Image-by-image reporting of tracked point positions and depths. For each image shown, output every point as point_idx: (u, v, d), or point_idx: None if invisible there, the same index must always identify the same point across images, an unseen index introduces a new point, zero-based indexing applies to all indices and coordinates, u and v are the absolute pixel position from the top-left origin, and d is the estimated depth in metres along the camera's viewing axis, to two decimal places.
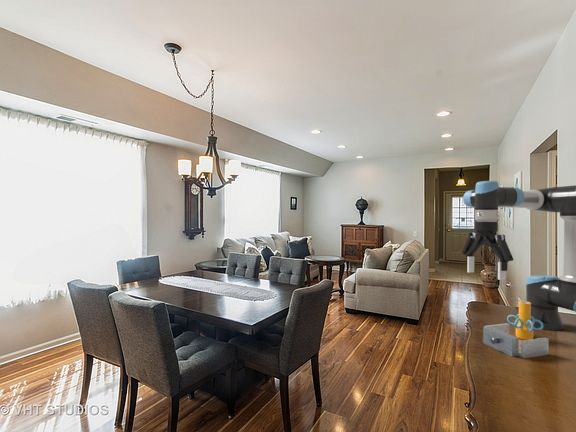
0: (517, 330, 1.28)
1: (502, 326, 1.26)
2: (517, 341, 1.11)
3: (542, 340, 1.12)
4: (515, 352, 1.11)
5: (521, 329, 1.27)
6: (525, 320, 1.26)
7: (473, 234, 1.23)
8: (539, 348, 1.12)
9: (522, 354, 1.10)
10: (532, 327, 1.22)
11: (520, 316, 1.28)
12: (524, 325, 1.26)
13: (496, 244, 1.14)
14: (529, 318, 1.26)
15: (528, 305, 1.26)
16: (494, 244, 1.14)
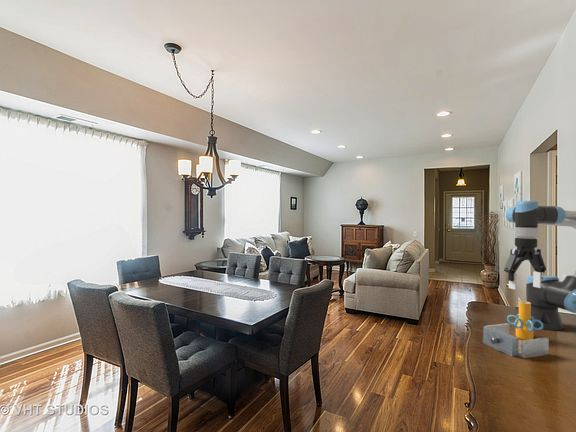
0: (517, 330, 1.28)
1: (502, 326, 1.26)
2: (517, 341, 1.11)
3: (542, 340, 1.12)
4: (515, 352, 1.11)
5: (521, 329, 1.27)
6: (525, 320, 1.26)
7: None
8: (539, 348, 1.12)
9: (522, 354, 1.10)
10: (532, 327, 1.22)
11: (520, 316, 1.28)
12: (524, 325, 1.26)
13: (519, 258, 1.26)
14: (529, 318, 1.26)
15: (528, 305, 1.26)
16: (517, 258, 1.27)
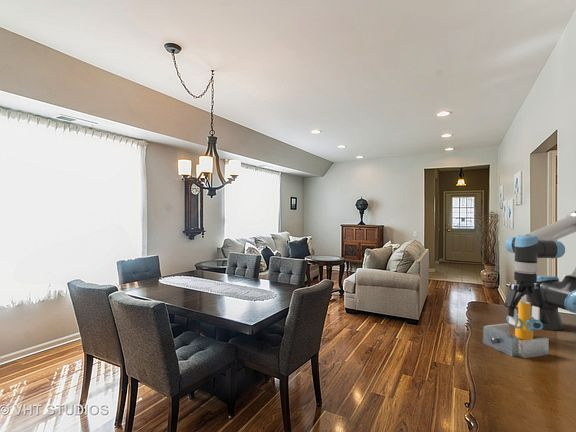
0: (517, 330, 1.28)
1: (502, 326, 1.26)
2: (517, 341, 1.11)
3: (542, 340, 1.12)
4: (515, 352, 1.11)
5: (521, 329, 1.26)
6: (525, 320, 1.26)
7: None
8: (539, 348, 1.12)
9: (522, 354, 1.10)
10: (532, 327, 1.22)
11: (520, 316, 1.28)
12: (524, 325, 1.26)
13: (519, 293, 1.26)
14: (529, 318, 1.26)
15: (528, 305, 1.26)
16: (517, 293, 1.27)
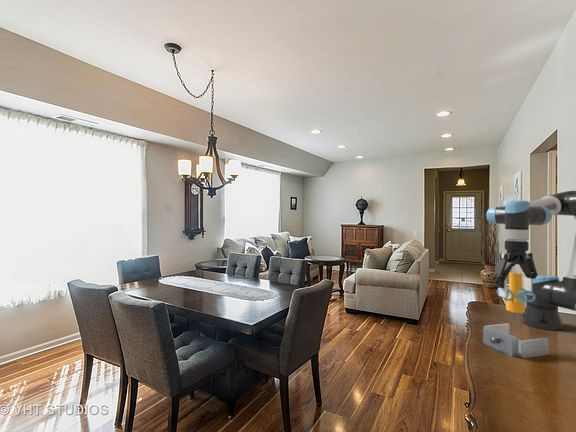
0: (507, 303, 1.19)
1: (502, 326, 1.26)
2: (517, 341, 1.11)
3: (542, 340, 1.12)
4: (515, 352, 1.11)
5: (512, 301, 1.17)
6: (516, 292, 1.17)
7: None
8: (539, 348, 1.12)
9: (522, 354, 1.10)
10: (523, 298, 1.13)
11: (510, 288, 1.19)
12: (515, 297, 1.17)
13: (509, 263, 1.17)
14: (520, 289, 1.17)
15: (519, 275, 1.17)
16: (507, 263, 1.18)
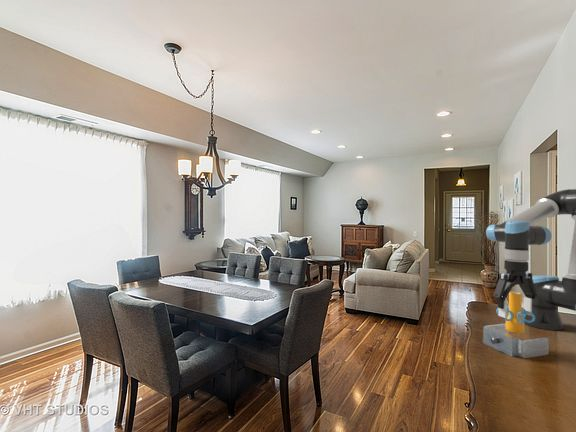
0: (507, 323, 1.19)
1: (502, 326, 1.26)
2: (517, 341, 1.11)
3: (542, 340, 1.12)
4: (515, 352, 1.11)
5: (511, 322, 1.17)
6: (515, 312, 1.17)
7: None
8: (539, 348, 1.12)
9: (522, 354, 1.10)
10: (523, 319, 1.13)
11: (510, 308, 1.19)
12: (515, 318, 1.17)
13: (509, 283, 1.17)
14: (520, 310, 1.17)
15: (519, 296, 1.17)
16: (507, 283, 1.18)
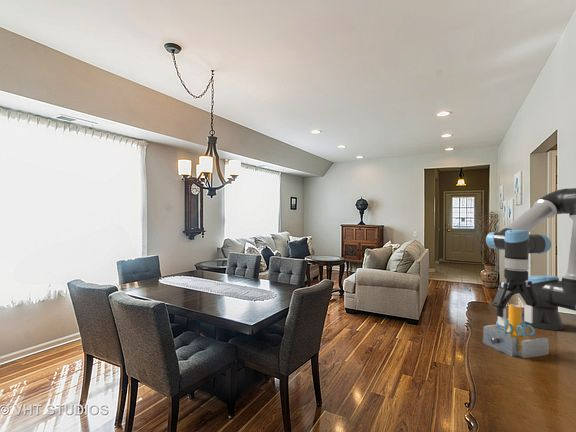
0: None
1: (502, 326, 1.26)
2: (517, 341, 1.11)
3: (542, 340, 1.12)
4: (515, 352, 1.11)
5: None
6: (515, 325, 1.17)
7: None
8: (539, 348, 1.12)
9: (522, 354, 1.10)
10: (522, 333, 1.13)
11: (510, 321, 1.19)
12: (515, 331, 1.17)
13: (509, 292, 1.17)
14: (519, 323, 1.17)
15: (518, 309, 1.17)
16: (507, 291, 1.18)
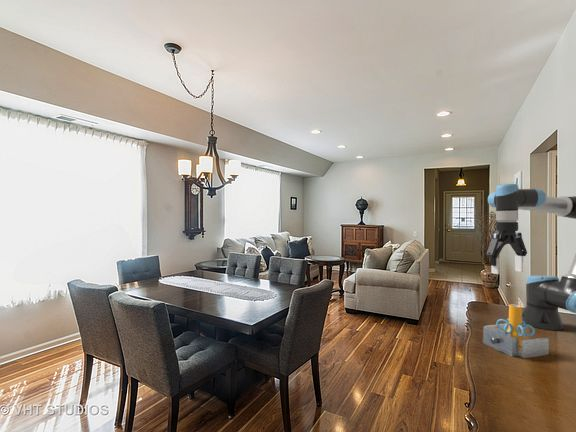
0: None
1: (502, 326, 1.26)
2: (517, 341, 1.11)
3: (542, 340, 1.12)
4: (515, 352, 1.11)
5: None
6: (515, 325, 1.17)
7: None
8: (539, 348, 1.12)
9: (522, 354, 1.10)
10: (523, 333, 1.13)
11: (510, 321, 1.18)
12: (515, 331, 1.17)
13: (501, 242, 1.25)
14: (520, 323, 1.17)
15: (519, 309, 1.17)
16: (499, 242, 1.25)
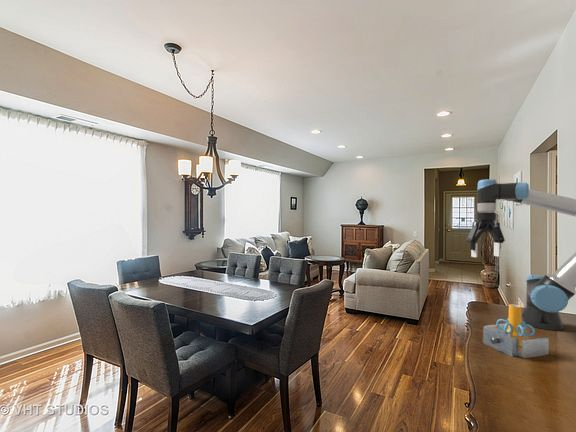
0: None
1: (502, 326, 1.26)
2: (517, 341, 1.11)
3: (542, 340, 1.12)
4: (515, 352, 1.11)
5: None
6: (515, 325, 1.17)
7: None
8: (539, 348, 1.12)
9: (522, 354, 1.10)
10: (522, 333, 1.13)
11: (510, 321, 1.19)
12: (515, 331, 1.17)
13: (480, 230, 1.43)
14: (520, 323, 1.17)
15: (519, 309, 1.17)
16: (478, 230, 1.44)
